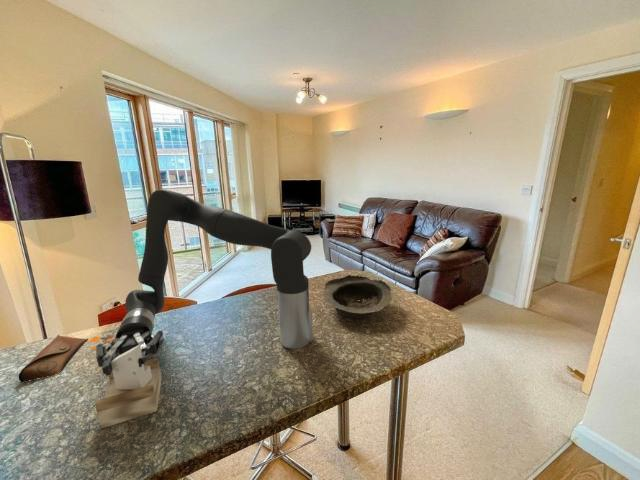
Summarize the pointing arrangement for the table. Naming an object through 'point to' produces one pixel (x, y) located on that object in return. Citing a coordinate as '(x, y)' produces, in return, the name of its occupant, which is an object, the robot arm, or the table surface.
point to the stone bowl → (357, 296)
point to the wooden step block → (129, 399)
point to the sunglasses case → (51, 358)
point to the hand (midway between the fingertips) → (123, 367)
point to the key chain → (102, 340)
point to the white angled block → (130, 370)
